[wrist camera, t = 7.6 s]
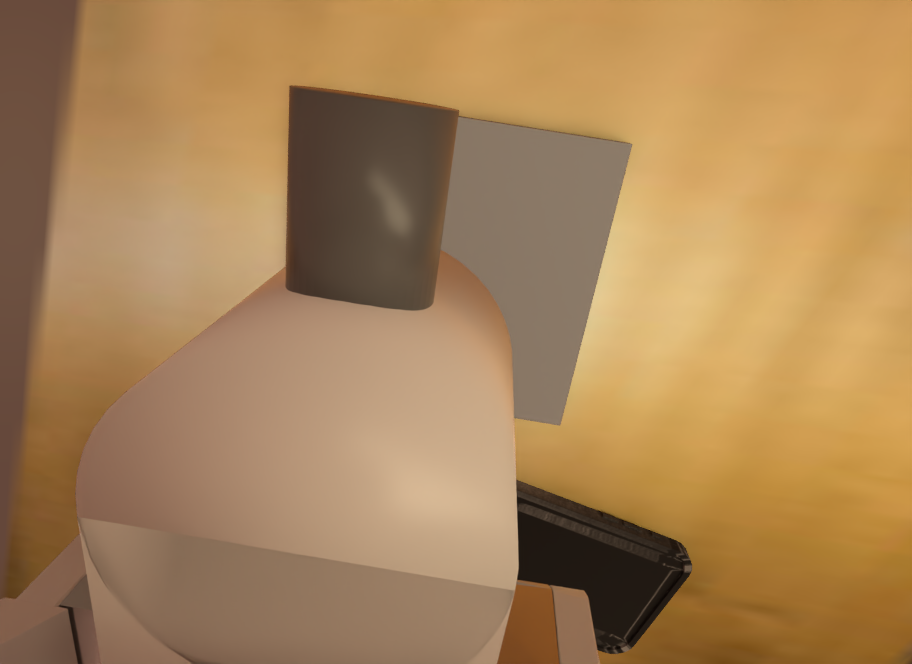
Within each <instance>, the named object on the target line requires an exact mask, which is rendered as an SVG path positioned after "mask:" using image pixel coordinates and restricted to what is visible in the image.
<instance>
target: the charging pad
mask: <svg viewBox="0 0 912 664" xmlns="http://www.w3.org/2000/svg"><path fill="white" fill-rule="evenodd" d="M631 147H632V144H630V143H625V142H619V141H612V140H606V139H600V138H593V137H587V136H581V135H574V134H568V133H562V132H555V131H549V130H543V129H536V128H530V127H523V126H517V125H511V124H504V123H498V122H492V121H485V120H479V119H473V118H466V117H460V116H458V123H457V130H456V138H455V145H454V153H453V160H452V168H451V175H450V183H449V190H448V198H447V206H446V213H445V221H444V228H443V236H442V243H441V250H442V251H444V252H446V253H448V254H449V255H451V256H452V257H454V258H455V259H456V260H458V261H459V262H461V263H462V264H463V265H465V266H466V267H467V268H468V269H469V270H470V271H471V272H472V273H474V274H475V275H476V276H477V277H478V279H479V280H480V281H481V282H482V283H483V284H484V286H485V287H486V288H487V289H488V290H489V292H490V294H491V295H492V297H493V298H494V300H495V301H496V303H497V304H498V307H499V309H500V311H501V313H502V315H503V317H504V319H505V322H506V326H507V329H508V332H509V336H510V342H511V348H512V368H513V399H514V418H518V419H524V420H530V421H536V422H542V423H548V424H554V425H560V424H561V420H562V416H563V413H564V409H565V405H566V401H567V397H568V393H569V389H570V385H571V381H572V377H573V374H574V370H575V366H576V362H577V358H578V354H579V350H580V346H581V342H582V338H583V335H584V331H585V327H586V323H587V319H588V315H589V311H590V307H591V303H592V299H593V295H594V292H595V288H596V284H597V280H598V276H599V272H600V268H601V264H602V260H603V256H604V253H605V249H606V245H607V241H608V237H609V233H610V229H611V225H612V221H613V217H614V214H615V210H616V206H617V202H618V198H619V194H620V190H621V186H622V182H623V178H624V174H625V171H626V167H627V163H628V159H629V155H630V151H631Z"/></svg>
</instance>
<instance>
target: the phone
mask: <svg viewBox="0 0 912 664" xmlns="http://www.w3.org/2000/svg"><path fill="white" fill-rule="evenodd" d="M516 492H517V523H518V562H519V569H518V576H517V580H522V581H528V582H534V583H541V584H547V585H549V586H550V585H553V586H559V587H565V588H571V589H578V590H584V591H585V593H586V594H587V596H588V599H589V605H590V611H591V617H592V622H593V628H594V634H595V639H596V645H597V650H599V651H602V652H605V653H610V654H618V653H623V652H626V651H628V650H630V649H631V648H632V647H633V646H634V645H635V644H636V643H637V641H638V640H639V639H640V638H641V636H642V635H643V634H644V633H645V631H646V630H647V629H648V627H649V626H650V625H651V624H652V622H653V621H654V620H655V619H656V617H657V616H658V615H659V613H660V612H661V611H662V610H663V608H664V607H665V606H666V605H667V603H668V602H669V601H670V600H671V598H672V597H673V596H674V594H675V593H676V592H677V591H678V589H679V588H680V587H681V586H682V584H683V583H684V582H685V581H686V579H687V578H688V577H689V575H690V573H691V571H692V564H691V561H690V558H689V556H688V553H687V551H686V548H685V547H684V546H683V545H682V544H681V543H679V542H678V541H676V540H673V539H671V538H668V537H666V536H663V535H660V534H658V533H655V532H652V531H650V530H647V529H644V528H642V527H639V526H637V525H634V524H631V523H629V522H626V521H623V520H621V519H618V518H615V517H613V516H610V515H608V514H605V513H602V512H600V511H597V510H594V509H592V508H589V507H586V506H584V505H581V504H579V503H576V502H573V501H571V500H568V499H565V498H563V497H560V496H557V495H555V494H552V493H550V492H547V491H544V490H542V489H539V488H536V487H534V486H531V485H528V484H526V483H523V482H521V481H518V480H516Z"/></svg>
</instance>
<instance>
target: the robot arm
mask: <svg viewBox="0 0 912 664" xmlns="http://www.w3.org/2000/svg"><path fill="white" fill-rule="evenodd" d="M0 664H101V659H100V653H99V647H98V641H97V635H96V629H95V623H94V616H93V610H92V604H91V598H90V592H89V586H88V580H87V573H86V567H85V561H84V555H83V549H82V543H81V537H80V534H79V535H78V536H77V537H76V538H75V539H74V540H73V541H72V542H71V543H70V544H69V545H68V546H67V547H66V548H65V549H64V550H63V551H62V552H61V553H60V554H59V555H58V556H57V557H56V558H55V559H54V560H53V562H52V563H51V564H50V565H49V566H48V567H47V568H46V569H45V570H44V571H43V572H42V573H41V574H40V575H39V576H38V577H37V578H36V579H35V580H34V581H33V582H32V583H31V584H30V585H29V586H28V587H27V588H26V589H25V590H24V591H23V592H22V593H21V594H20V595H19V596H18V597H17V598H16V599H10V598H3V599H1V600H0ZM497 664H600V662H599V657H598V651H597V645H596V639H595V634H594V628H593V622H592V617H591V611H590V605H589V599H588V596H587V594H586V593H585V591H584V590H578V589H571V588H565V587H559V586H553V585H550V586H549V585H547V584H541V583H534V582H528V581H522V580H517V582H516V588H515V593H514V597H513V601H512V605H511V609H510V613H509V617H508V621H507V625H506V629H505V633H504V637H503V641H502V645H501V649H500V653H499V657H498V661H497Z"/></svg>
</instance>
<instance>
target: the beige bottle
mask: <svg viewBox="0 0 912 664" xmlns="http://www.w3.org/2000/svg"><path fill="white" fill-rule="evenodd" d="M458 115H459V110H456V109H452V108H447V107H442V106H437V105H431V104H426V103H420V102H414V101H408V100H401V99H395V98H389V97H382V96H375V95H368V94H361V93H354V92H347V91H339V90H331V89H323V88H315V87H305V86H290V90H289V138H288V186H287V234H286V267H285V268H283V269H282V270H281V271H279V272H278V273H277V274H276V275H274V276H273V277H272V278H270V279H269V280H268V281H267V282H265V283H264V284H263V285H262V286H260V287H259V288H258V289H256V290H255V291H254V292H253V293H251V294H250V295H249V296H248V297H246V298H245V299H244V300H242V301H241V302H240V303H239V304H237V305H236V306H235V307H233V308H232V309H231V310H230V311H228V312H227V313H226V314H225V315H223V316H222V317H221V318H219V319H218V320H217V321H216V322H214V323H213V324H212V325H211V326H209V327H208V328H207V329H205V330H204V331H203V332H202V333H200V334H199V335H198V336H196V337H195V338H194V339H193V340H191V341H190V342H189V343H188V344H186V345H185V346H184V347H182V348H181V349H180V350H179V351H177V352H176V353H175V354H174V355H172V356H171V357H170V358H168V359H167V360H166V361H165V362H163V363H162V364H161V365H159V366H158V367H157V368H156V369H154V370H153V371H152V372H151V373H149V374H148V375H147V376H145V377H144V378H143V379H142V380H140V381H139V382H138V383H137V384H135V385H134V386H133V387H131V388H130V389H129V390H128V391H126V392H125V393H124V394H123V395H122V396H121V397H120V398H119V399H118V400H117V401H116V402H115V403H114V404H113V405H112V406H110V407H109V408H108V409H107V411H106V412H105V414H104V415H103V416H102V418H101V419H100V420H99V422H98V423H97V424H96V426H95V427H94V429H93V431H92V433H91V435H90V437H89V439H88V441H87V443H86V445H85V447H84V449H83V453H82V456H81V460H80V464H79V468H78V471H77V482H76V493H75V495H76V507H77V518H78V524H79V530H80V537H81V543H82V549H83V555H84V561H85V567H86V573H87V580H88V586H89V592H90V598H91V604H92V610H93V616H94V623H95V629H96V635H97V641H98V647H99V653H100V659H101V664H497V661H498V657H499V653H500V649H501V645H502V641H503V637H504V633H505V629H506V625H507V621H508V617H509V613H510V609H511V605H512V601H513V597H514V593H515V588H516V582H517V576H518V569H519V562H518V523H517V492H516V461H515V430H514V399H513V368H512V348H511V342H510V336H509V332H508V329H507V326H506V322H505V319H504V317H503V315H502V313H501V311H500V309H499V307H498V304H497V303H496V301H495V300H494V298H493V297H492V295H491V294H490V292H489V290H488V289H487V288H486V287H485V286H484V284H483V283H482V282H481V281H480V280H479V279H478V277H477V276H476V275H475V274H474V273H472V272H471V271H470V270H469V269H468V268H467V267H466V266H465V265H463V264H462V263H461V262H459V261H458V260H456V259H455V258H454V257H452V256H451V255H449V254H448V253H446V252H444V251H442V250H441V243H442V236H443V228H444V221H445V213H446V206H447V198H448V190H449V183H450V175H451V168H452V160H453V153H454V145H455V138H456V130H457V123H458Z"/></svg>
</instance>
